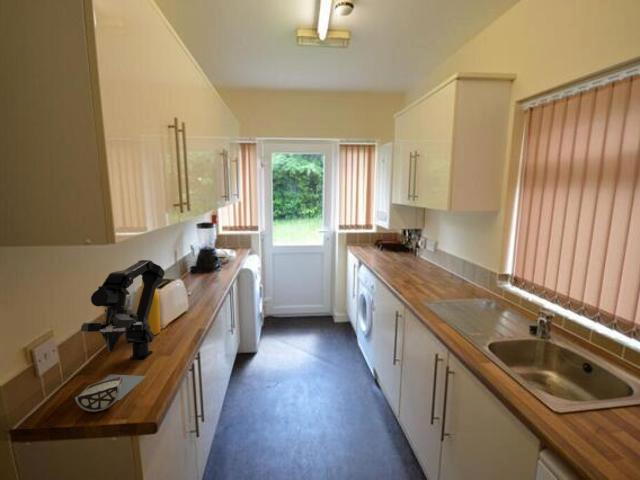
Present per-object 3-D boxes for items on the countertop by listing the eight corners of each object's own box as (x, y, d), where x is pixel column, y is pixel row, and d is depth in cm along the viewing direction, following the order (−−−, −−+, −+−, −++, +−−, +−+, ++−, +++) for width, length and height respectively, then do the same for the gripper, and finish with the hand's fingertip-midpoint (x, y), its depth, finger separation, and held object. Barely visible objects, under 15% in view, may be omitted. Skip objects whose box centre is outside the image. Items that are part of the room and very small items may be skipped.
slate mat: (110, 374, 125) (110, 374, 125) (146, 376, 124) (146, 376, 124) (78, 398, 110) (78, 397, 110) (119, 400, 109) (119, 400, 109)
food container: (88, 404, 110) (77, 419, 101) (84, 386, 110) (73, 399, 101) (130, 391, 114) (123, 405, 105) (126, 374, 114) (119, 386, 104)
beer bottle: (164, 332, 166) (162, 274, 162) (146, 338, 158) (143, 278, 155) (154, 328, 171) (151, 272, 167) (135, 334, 163) (132, 275, 160)
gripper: (99, 306, 111) (92, 356, 108) (152, 307, 126) (148, 350, 123) (83, 306, 117) (76, 353, 114) (136, 307, 132) (131, 348, 129)
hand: (110, 351), depth 120 cm, fingers closed
